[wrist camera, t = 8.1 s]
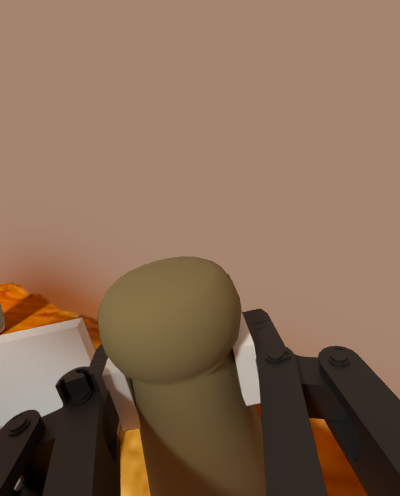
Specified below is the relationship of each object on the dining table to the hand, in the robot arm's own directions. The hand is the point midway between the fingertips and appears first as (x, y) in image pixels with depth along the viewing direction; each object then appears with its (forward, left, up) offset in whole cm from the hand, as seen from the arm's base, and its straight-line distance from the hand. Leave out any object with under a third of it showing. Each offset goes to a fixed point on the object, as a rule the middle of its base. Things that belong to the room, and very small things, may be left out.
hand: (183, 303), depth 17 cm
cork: (+2, -5, -7) cm, 9 cm away
